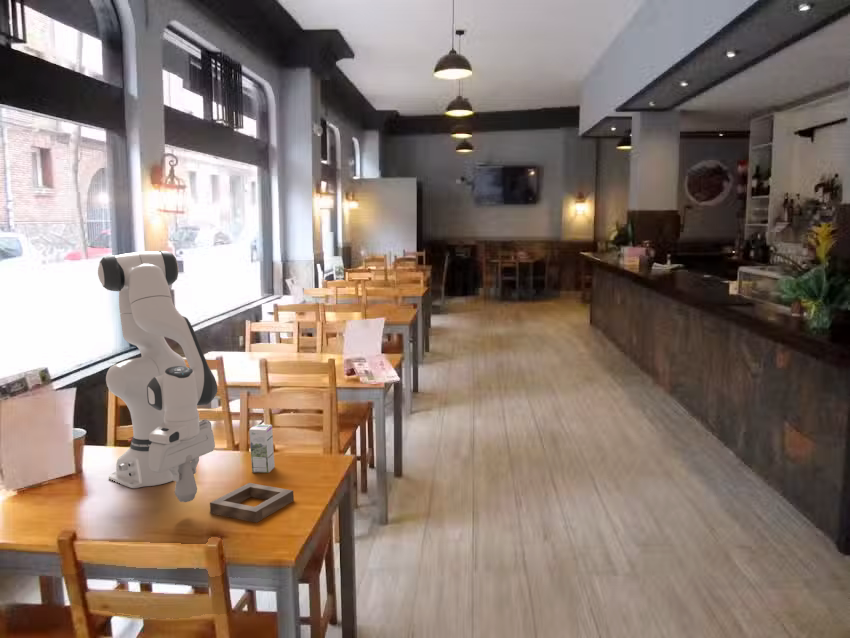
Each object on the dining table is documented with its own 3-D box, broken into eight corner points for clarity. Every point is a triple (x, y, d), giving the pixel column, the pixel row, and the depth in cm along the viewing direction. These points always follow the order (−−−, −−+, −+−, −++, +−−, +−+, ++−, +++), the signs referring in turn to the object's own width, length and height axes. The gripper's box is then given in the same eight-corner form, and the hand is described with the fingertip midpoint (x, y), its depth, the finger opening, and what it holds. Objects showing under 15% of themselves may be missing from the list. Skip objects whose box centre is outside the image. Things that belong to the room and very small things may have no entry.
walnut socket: (210, 513, 187) (209, 502, 187) (249, 492, 202) (249, 482, 201) (256, 522, 180) (255, 511, 180) (293, 500, 194) (293, 490, 194)
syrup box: (275, 467, 223) (272, 423, 221) (268, 473, 217) (265, 429, 215) (258, 466, 224) (255, 423, 222) (251, 473, 218) (248, 428, 216)
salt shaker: (190, 504, 182) (187, 457, 180) (170, 502, 183) (167, 456, 182) (201, 495, 188) (199, 450, 186) (182, 494, 189) (179, 448, 187)
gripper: (201, 416, 193) (204, 463, 195) (143, 436, 175) (146, 488, 177) (218, 419, 191) (221, 466, 193) (161, 440, 173) (164, 492, 175)
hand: (184, 477), depth 185 cm, fingers closed on salt shaker, 4 cm apart
